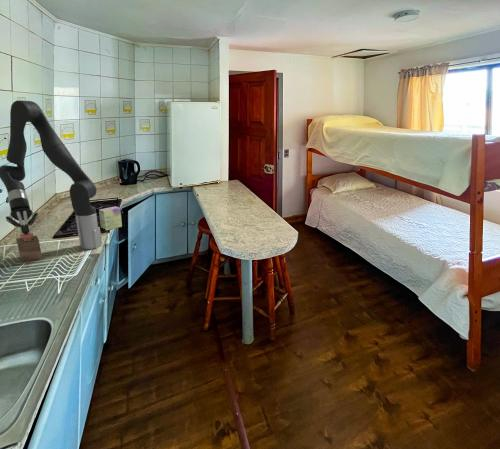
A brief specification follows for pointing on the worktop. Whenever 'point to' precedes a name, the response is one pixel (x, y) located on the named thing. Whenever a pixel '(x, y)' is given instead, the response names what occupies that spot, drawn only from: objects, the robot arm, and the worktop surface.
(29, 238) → the red mushroom
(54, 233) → the worktop surface
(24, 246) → the housing
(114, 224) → the box
